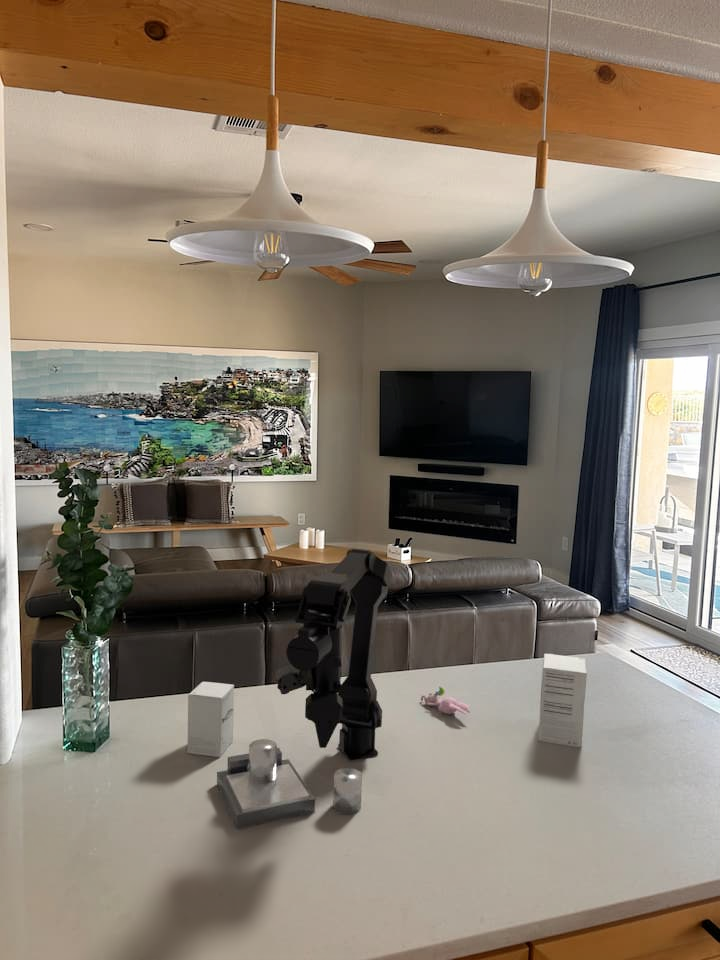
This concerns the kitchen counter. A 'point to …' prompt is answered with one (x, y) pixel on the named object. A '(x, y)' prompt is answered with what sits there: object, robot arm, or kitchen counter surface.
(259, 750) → the cylinder
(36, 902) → the kitchen counter surface
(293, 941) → the kitchen counter surface
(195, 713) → the supplement box
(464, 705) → the rabbit figure
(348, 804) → the cylinder
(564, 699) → the supplement box
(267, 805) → the dial scale
